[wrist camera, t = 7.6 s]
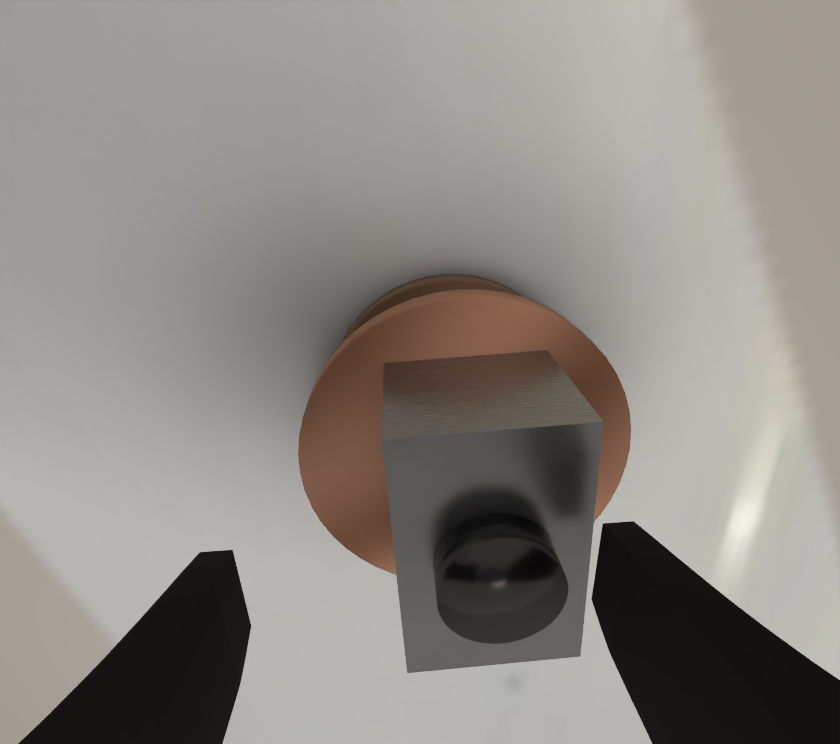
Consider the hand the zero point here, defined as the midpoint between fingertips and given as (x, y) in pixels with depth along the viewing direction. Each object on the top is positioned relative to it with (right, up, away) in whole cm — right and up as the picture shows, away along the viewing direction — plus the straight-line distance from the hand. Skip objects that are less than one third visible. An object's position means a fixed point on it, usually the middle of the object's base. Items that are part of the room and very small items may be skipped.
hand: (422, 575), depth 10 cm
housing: (+1, +1, +5) cm, 6 cm away
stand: (+1, +3, +10) cm, 10 cm away
